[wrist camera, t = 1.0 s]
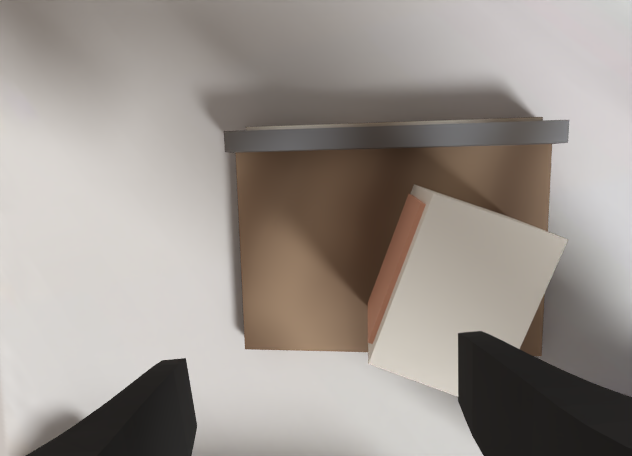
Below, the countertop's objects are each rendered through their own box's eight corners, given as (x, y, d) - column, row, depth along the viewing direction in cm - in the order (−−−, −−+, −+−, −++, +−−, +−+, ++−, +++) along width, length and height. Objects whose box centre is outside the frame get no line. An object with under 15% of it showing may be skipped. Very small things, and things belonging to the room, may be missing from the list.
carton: (507, 216, 23) (568, 239, 16) (456, 338, 24) (492, 409, 17) (410, 182, 23) (428, 191, 16) (364, 305, 24) (363, 362, 18)
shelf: (543, 121, 23) (569, 115, 20) (533, 347, 25) (555, 371, 22) (240, 131, 25) (223, 127, 22) (250, 341, 27) (236, 362, 24)
